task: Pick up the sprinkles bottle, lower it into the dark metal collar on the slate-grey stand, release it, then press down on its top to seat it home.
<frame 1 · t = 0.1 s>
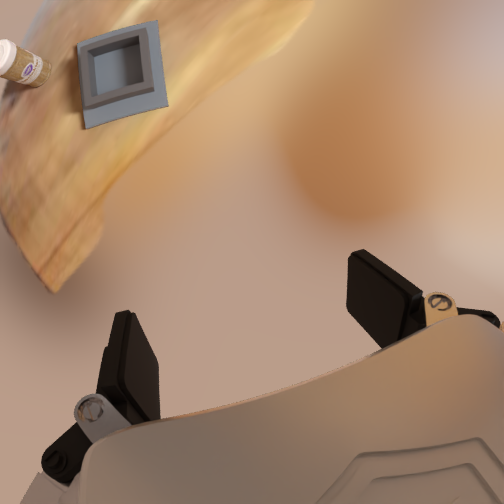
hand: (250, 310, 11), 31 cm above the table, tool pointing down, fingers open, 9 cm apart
sprinkles bottle: (40, 73, 25), on the table
bottle stand: (120, 72, 29), on the table
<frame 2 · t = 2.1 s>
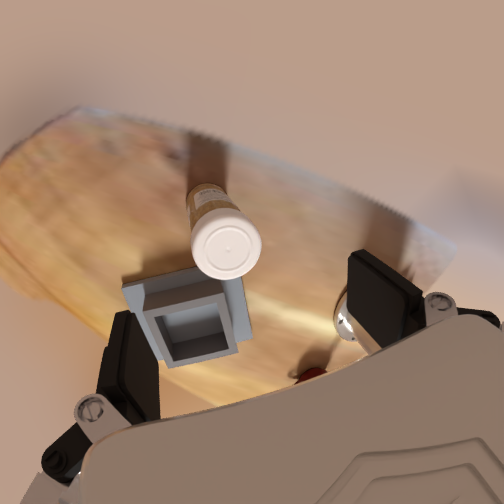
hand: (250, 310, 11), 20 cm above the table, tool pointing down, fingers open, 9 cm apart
cocoa: (311, 374, 46), on the table
sprinkles bottle: (207, 202, 30), on the table
bottle stand: (190, 312, 34), on the table
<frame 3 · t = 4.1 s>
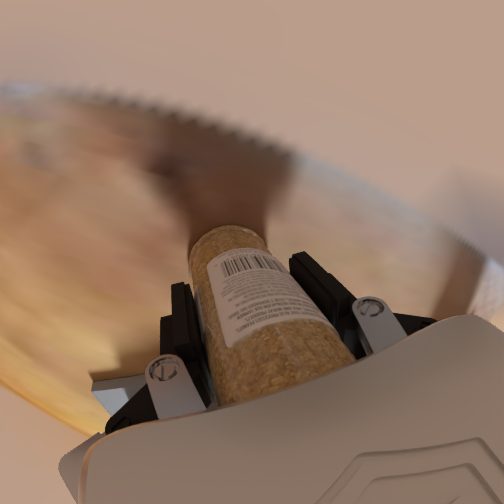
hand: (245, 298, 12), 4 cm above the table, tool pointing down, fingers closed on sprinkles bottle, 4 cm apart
sprinkles bottle: (228, 259, 16), on the table, touching gripper
bottle stand: (201, 412, 20), on the table
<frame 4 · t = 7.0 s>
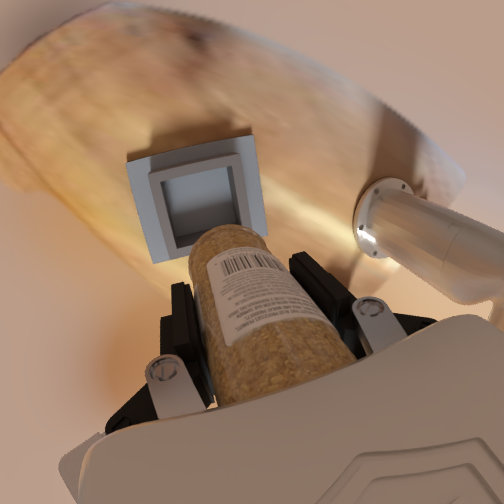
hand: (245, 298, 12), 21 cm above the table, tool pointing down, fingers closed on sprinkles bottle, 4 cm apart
sprinkles bottle: (228, 259, 16), point 17 cm above the table, touching gripper
bottle stand: (199, 198, 31), on the table
when the fingers open (6 cm above the table, at t = 10.2 s): sprinkles bottle drops 1 cm, resting on bottle stand.
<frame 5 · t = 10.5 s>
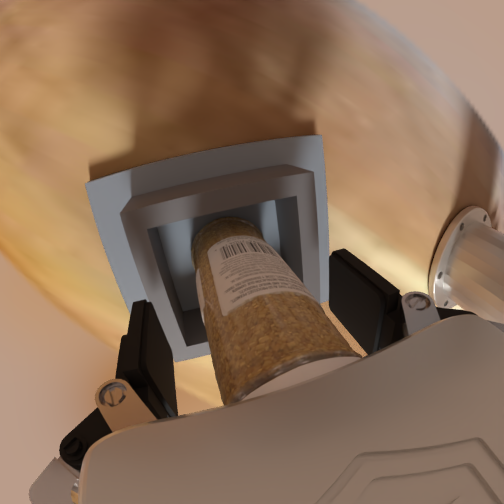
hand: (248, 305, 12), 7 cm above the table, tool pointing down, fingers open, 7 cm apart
sprinkles bottle: (228, 249, 17), point 1 cm above the table, touching bottle stand
bottle stand: (221, 245, 18), on the table
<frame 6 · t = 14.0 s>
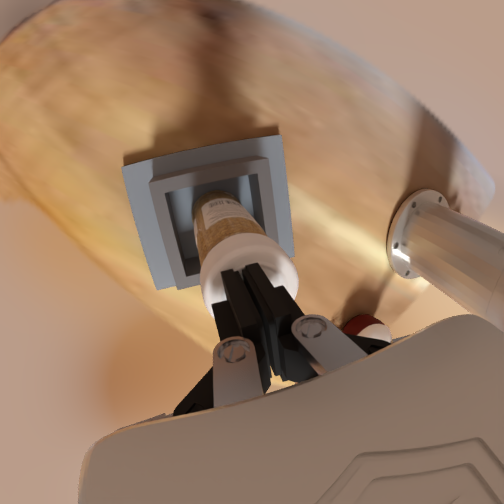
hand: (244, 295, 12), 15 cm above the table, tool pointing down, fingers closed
cocoa: (355, 326, 37), on the table
sprinkles bottle: (217, 213, 25), point 1 cm above the table, touching bottle stand, gripper
bottle stand: (213, 211, 25), on the table
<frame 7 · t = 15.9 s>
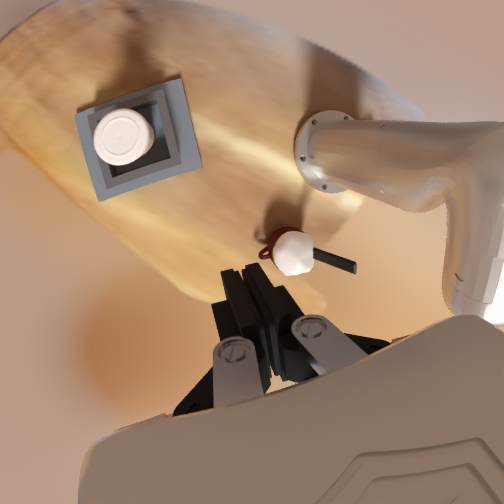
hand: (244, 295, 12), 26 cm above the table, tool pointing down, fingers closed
cocoa: (283, 242, 42), on the table
sprinkles bottle: (138, 138, 30), point 1 cm above the table, touching bottle stand
bottle stand: (137, 138, 31), on the table
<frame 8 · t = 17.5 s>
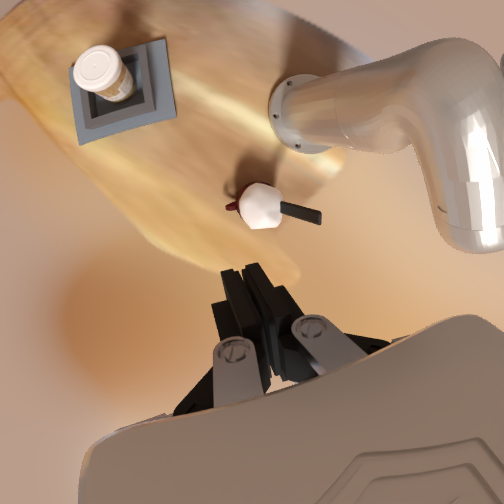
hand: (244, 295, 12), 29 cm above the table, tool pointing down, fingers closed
cocoa: (254, 199, 41), on the table
sprinkles bottle: (121, 89, 29), point 1 cm above the table, touching bottle stand
bottle stand: (120, 90, 30), on the table
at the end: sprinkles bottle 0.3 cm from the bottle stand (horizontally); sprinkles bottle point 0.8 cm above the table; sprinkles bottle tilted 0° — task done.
